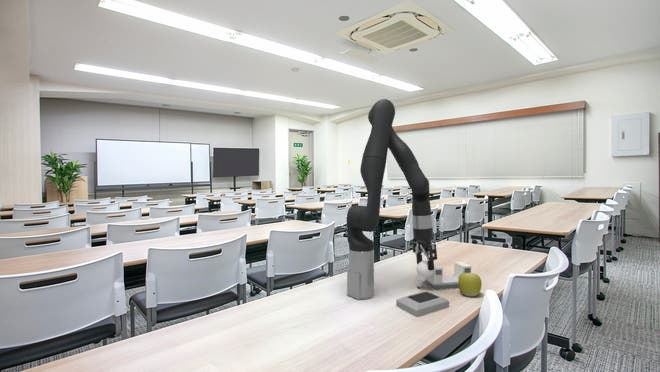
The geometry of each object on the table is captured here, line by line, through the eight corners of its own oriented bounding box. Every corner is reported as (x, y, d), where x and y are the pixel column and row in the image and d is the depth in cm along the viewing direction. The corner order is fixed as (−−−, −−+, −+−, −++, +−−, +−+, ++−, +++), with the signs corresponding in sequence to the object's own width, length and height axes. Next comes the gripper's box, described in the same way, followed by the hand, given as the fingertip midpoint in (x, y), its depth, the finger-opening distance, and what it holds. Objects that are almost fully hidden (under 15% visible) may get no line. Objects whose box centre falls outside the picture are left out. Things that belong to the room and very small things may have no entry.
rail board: (434, 289, 124) (434, 284, 124) (424, 282, 132) (424, 277, 132) (473, 286, 127) (473, 281, 127) (461, 279, 135) (461, 274, 135)
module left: (434, 284, 125) (434, 268, 124) (426, 278, 131) (426, 263, 131) (442, 283, 125) (443, 268, 125) (434, 277, 132) (434, 263, 132)
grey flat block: (396, 296, 109) (427, 288, 117) (396, 307, 109) (427, 298, 117) (416, 307, 101) (449, 297, 108) (416, 318, 101) (449, 308, 109)
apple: (483, 298, 113) (474, 270, 114) (460, 300, 117) (452, 273, 119) (486, 291, 120) (478, 264, 121) (464, 293, 124) (457, 267, 125)
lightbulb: (414, 281, 131) (423, 256, 129) (429, 289, 127) (438, 264, 125) (408, 284, 126) (417, 259, 124) (422, 292, 122) (432, 266, 120)
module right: (463, 281, 127) (463, 266, 127) (454, 276, 134) (454, 262, 133) (471, 281, 128) (471, 266, 127) (461, 275, 134) (461, 261, 134)
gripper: (441, 227, 119) (444, 270, 120) (421, 222, 133) (424, 261, 134) (423, 230, 117) (426, 273, 118) (405, 224, 131) (408, 263, 132)
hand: (425, 267), depth 126 cm, fingers open, 8 cm apart
